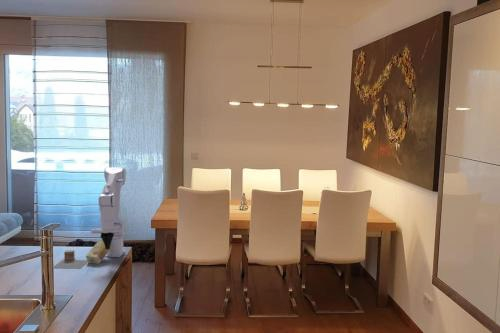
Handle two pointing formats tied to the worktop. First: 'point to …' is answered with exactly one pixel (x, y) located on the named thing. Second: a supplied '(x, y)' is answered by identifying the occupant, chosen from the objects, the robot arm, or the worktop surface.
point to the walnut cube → (69, 255)
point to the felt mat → (71, 264)
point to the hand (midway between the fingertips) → (107, 248)
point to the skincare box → (97, 252)
